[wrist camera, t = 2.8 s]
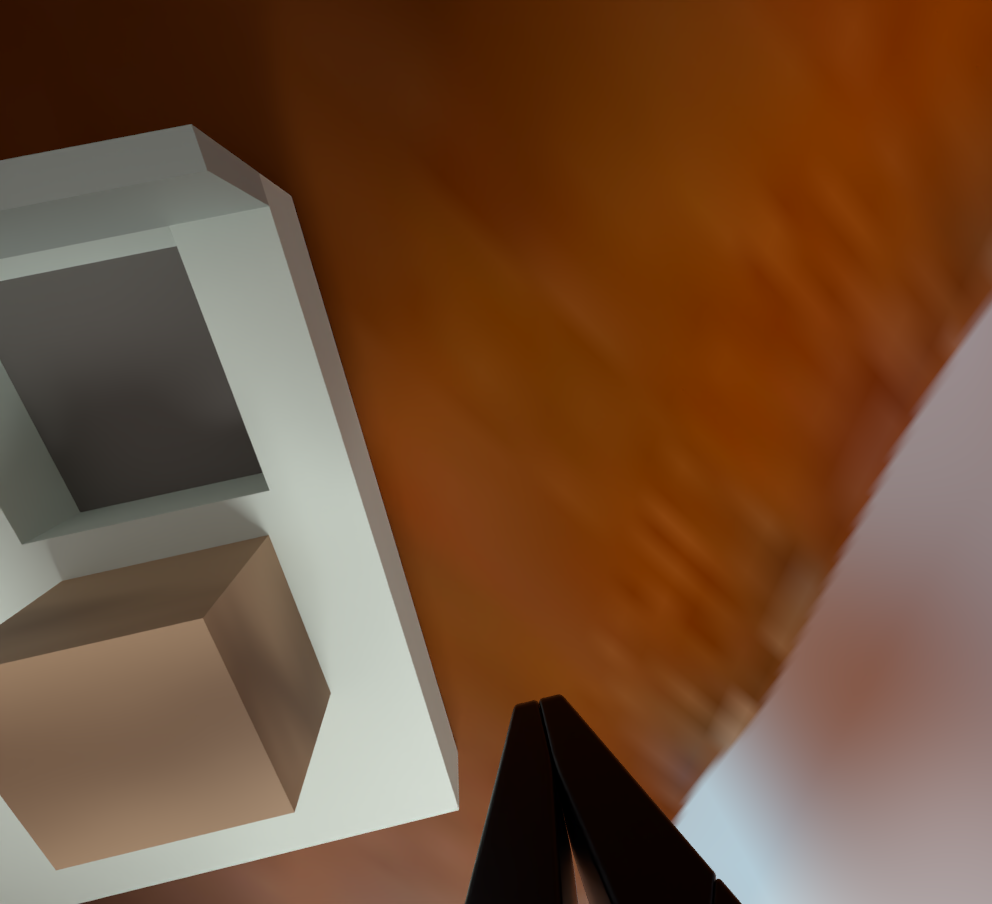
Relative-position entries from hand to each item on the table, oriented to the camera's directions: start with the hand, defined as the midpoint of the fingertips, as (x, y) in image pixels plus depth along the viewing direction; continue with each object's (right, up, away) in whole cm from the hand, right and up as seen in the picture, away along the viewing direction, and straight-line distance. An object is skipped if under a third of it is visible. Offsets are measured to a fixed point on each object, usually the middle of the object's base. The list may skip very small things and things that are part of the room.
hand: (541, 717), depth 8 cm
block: (-8, 0, +4) cm, 9 cm away
